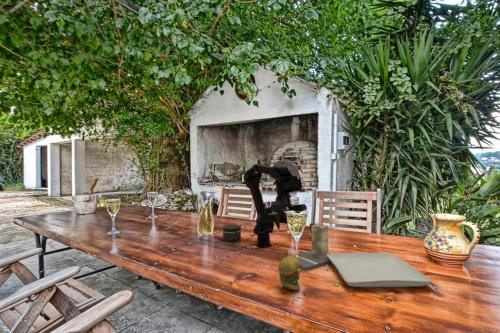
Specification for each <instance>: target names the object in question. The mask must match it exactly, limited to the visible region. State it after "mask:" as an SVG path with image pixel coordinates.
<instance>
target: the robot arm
mask: <svg viewBox="0 0 500 333" xmlns="http://www.w3.org/2000/svg"><path fill="white" fill-rule="evenodd" d="M263 174H265V175H267V176H268V175H269V176H270V177H271V178H272V179H274V180H275V181H274V182H273V183H272V185H273V186H275V189H276V190H275V191H276V196H275V200H274V201H273V202H272V203H271V204H270V206H271V207H266V205H265V201H264V199H263V195H262V191H261V189H260V185H261V178H262V177H263ZM242 180H243V182H244V184H245V186H246V187H247V188H248V189H249V190H250V194H251V197H252V201H253V204H254V208H255V210H256V220H255V226H254V228H253V230H252V231H253V234H255V235H256V236H257V237H256V239H257V241H256V242H257V243H254V246H257V247H259V248H261V249H262V248H267V247H272V246H273V244H272V243H271V238H270V236H271V234H273V232H274V228H275V226H276V229H277V230H280V229H281V223H280V222H281V220H280V213H281V212H289V211H291V212H292V211H294V212H293V213H300V212H302V211H307V210H308V208H307V205H306V203H300V204H292V203H291V202H292V200H291V198H292V195H291V193H297V192H301V190H302V188H303V183H302V181H301V179H299V178H298V175H293V174H292V173H291V171H290V169H289V168H288V167H287V166H270V165H265V164H262V163H255V164H253V165H252V167H249V169H248V170H246V172H245V173H244V175H243V179H242Z"/></svg>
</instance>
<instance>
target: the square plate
mask: <svg viewBox="0 0 500 333" xmlns="http://www.w3.org/2000/svg"><path fill="white" fill-rule="evenodd" d="M328 253H329V254H326V255H327V257H328V258H329V259H330V261H331V262H332V263H331V264H333V265H334V267H335V268H336V270H337V271H338V273H339V275H340V276H341V278H342V279H343V280H344V282H345V283H346V285H347V286H350V287H356V288H358V287H359V288H408V287H424V286H427V285H429V284H431V283H432V282H433V280H432V279H430V278H429V277H428V276H427V275H425V274H423V273H422V272H421V271H420V270H418V269H416V268H415V267H413V266H412V265H411V264H409V263H407V261H405V260H403V259H401V258H400V257H398V256H397V255H395V254H394V253H391V252H337V253H335V252H333V253H332V252H331V253H330V252H328Z"/></svg>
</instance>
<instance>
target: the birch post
mask: <svg viewBox="0 0 500 333" xmlns="http://www.w3.org/2000/svg"><path fill="white" fill-rule="evenodd" d="M321 224H322V223H318V224H317V223H316V225H313V226H311V232H312V235H311V251H312V257H316V258H320V259H324V258H326V257H327V255H326V254H328V253H329V225H326V224H322V225H321ZM311 232H310V233H311Z"/></svg>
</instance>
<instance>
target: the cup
mask: <svg viewBox="0 0 500 333" xmlns="http://www.w3.org/2000/svg"><path fill="white" fill-rule="evenodd" d="M316 224H319V223H318V222H317V223H316V222H314V223H312V222H311V223H309V231H310V235H311V236H312V232H311V226H313V225H316ZM320 224H321V225H323V223H320Z"/></svg>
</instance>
